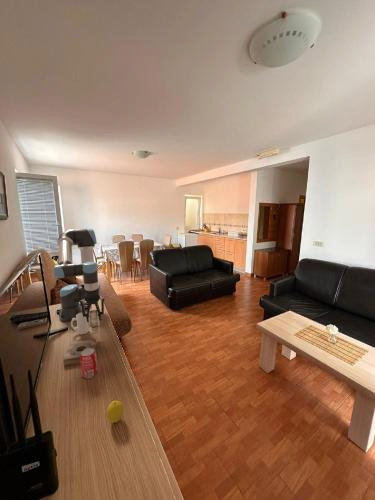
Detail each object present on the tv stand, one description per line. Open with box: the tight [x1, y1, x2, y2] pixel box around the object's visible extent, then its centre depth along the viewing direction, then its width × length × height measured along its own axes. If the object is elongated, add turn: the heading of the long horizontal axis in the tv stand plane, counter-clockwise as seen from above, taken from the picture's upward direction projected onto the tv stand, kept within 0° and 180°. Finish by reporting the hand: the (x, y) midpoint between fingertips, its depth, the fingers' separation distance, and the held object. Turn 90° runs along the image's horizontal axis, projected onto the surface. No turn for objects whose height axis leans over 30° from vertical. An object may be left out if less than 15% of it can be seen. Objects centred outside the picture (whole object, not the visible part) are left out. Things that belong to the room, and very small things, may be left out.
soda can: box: [79, 348, 98, 379], centre depth 98 cm, size 7×7×12 cm
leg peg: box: [89, 309, 99, 335], centre depth 125 cm, size 4×4×14 cm
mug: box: [70, 311, 90, 335], centre depth 134 cm, size 10×7×12 cm, turn 120°
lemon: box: [106, 400, 124, 424], centre depth 76 cm, size 6×6×8 cm
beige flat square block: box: [62, 338, 98, 367], centre depth 113 cm, size 14×14×4 cm
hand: (94, 325), depth 126 cm, fingers closed on leg peg, 4 cm apart
